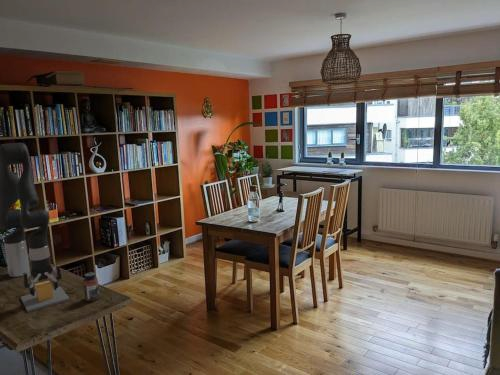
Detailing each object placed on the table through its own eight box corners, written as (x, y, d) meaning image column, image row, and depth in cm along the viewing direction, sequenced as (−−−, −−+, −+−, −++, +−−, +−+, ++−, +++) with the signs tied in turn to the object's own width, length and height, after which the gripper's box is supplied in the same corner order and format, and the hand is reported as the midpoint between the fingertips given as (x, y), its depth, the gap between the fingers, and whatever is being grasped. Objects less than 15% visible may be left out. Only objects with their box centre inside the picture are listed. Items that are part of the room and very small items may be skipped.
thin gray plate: (21, 298, 170) (19, 288, 170) (60, 288, 180) (59, 278, 179) (27, 312, 158) (25, 300, 157) (69, 300, 168) (68, 289, 167)
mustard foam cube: (36, 297, 169) (34, 284, 168) (50, 293, 173) (49, 280, 172) (39, 301, 165) (37, 288, 164) (53, 297, 168) (51, 284, 167)
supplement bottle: (85, 297, 170) (82, 272, 168) (99, 294, 172) (97, 270, 170) (84, 303, 165) (81, 277, 163) (99, 300, 167) (97, 275, 165)
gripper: (56, 250, 173) (60, 285, 176) (19, 258, 164) (24, 294, 167) (60, 254, 167) (64, 290, 170) (22, 263, 158) (27, 300, 161)
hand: (44, 292), depth 168 cm, fingers open, 8 cm apart
